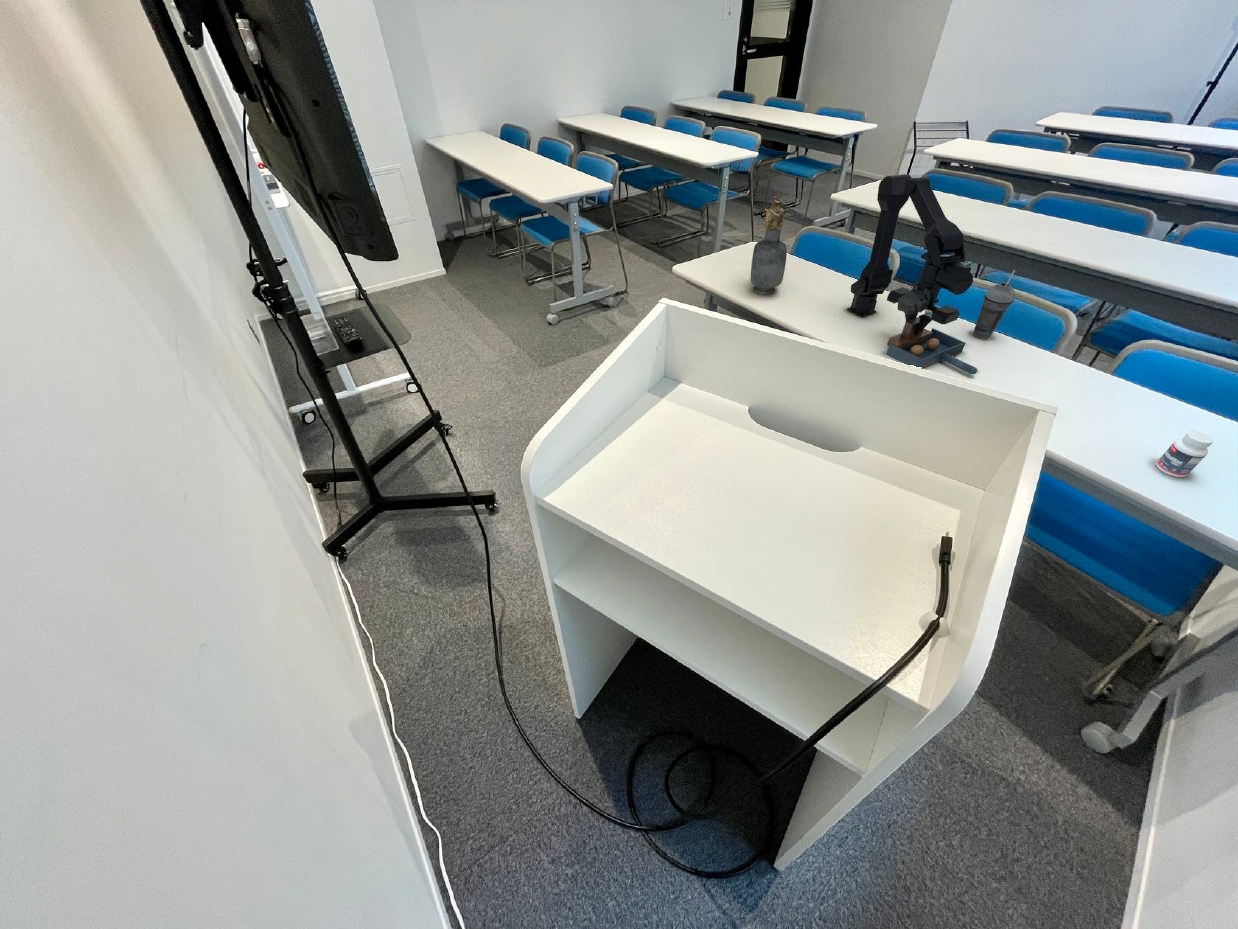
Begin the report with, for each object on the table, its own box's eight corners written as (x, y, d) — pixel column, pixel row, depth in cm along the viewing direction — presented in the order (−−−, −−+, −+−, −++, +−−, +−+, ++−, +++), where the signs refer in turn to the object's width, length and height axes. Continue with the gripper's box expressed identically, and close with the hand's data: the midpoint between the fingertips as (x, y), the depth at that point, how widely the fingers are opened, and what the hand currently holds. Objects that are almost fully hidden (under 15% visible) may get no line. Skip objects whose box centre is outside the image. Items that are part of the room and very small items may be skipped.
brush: (886, 345, 152) (893, 323, 148) (917, 334, 157) (925, 312, 152) (899, 351, 149) (907, 329, 145) (930, 340, 154) (938, 317, 149)
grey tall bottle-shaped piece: (748, 298, 181) (760, 204, 161) (748, 277, 195) (760, 188, 175) (780, 300, 179) (797, 205, 159) (778, 278, 193) (794, 188, 173)
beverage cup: (989, 329, 159) (1020, 263, 146) (999, 341, 153) (1033, 273, 140) (963, 329, 160) (992, 263, 146) (973, 341, 154) (1004, 273, 141)
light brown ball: (915, 359, 147) (906, 354, 149) (923, 356, 148) (913, 352, 150) (919, 349, 145) (909, 344, 147) (927, 346, 146) (917, 341, 148)
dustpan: (886, 354, 150) (890, 343, 148) (929, 337, 156) (933, 327, 154) (951, 387, 137) (956, 377, 134) (995, 368, 143) (1000, 358, 141)
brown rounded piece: (932, 352, 149) (922, 348, 152) (940, 349, 150) (930, 346, 153) (935, 341, 148) (925, 338, 150) (943, 338, 149) (933, 335, 151)
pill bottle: (1148, 462, 113) (1176, 429, 107) (1172, 460, 113) (1200, 427, 107) (1170, 478, 109) (1200, 445, 103) (1194, 476, 109) (1225, 443, 103)
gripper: (881, 275, 144) (865, 327, 155) (942, 299, 132) (920, 354, 142) (909, 266, 148) (892, 318, 158) (971, 289, 136) (948, 344, 146)
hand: (911, 333), depth 151 cm, fingers closed on brush, 2 cm apart
